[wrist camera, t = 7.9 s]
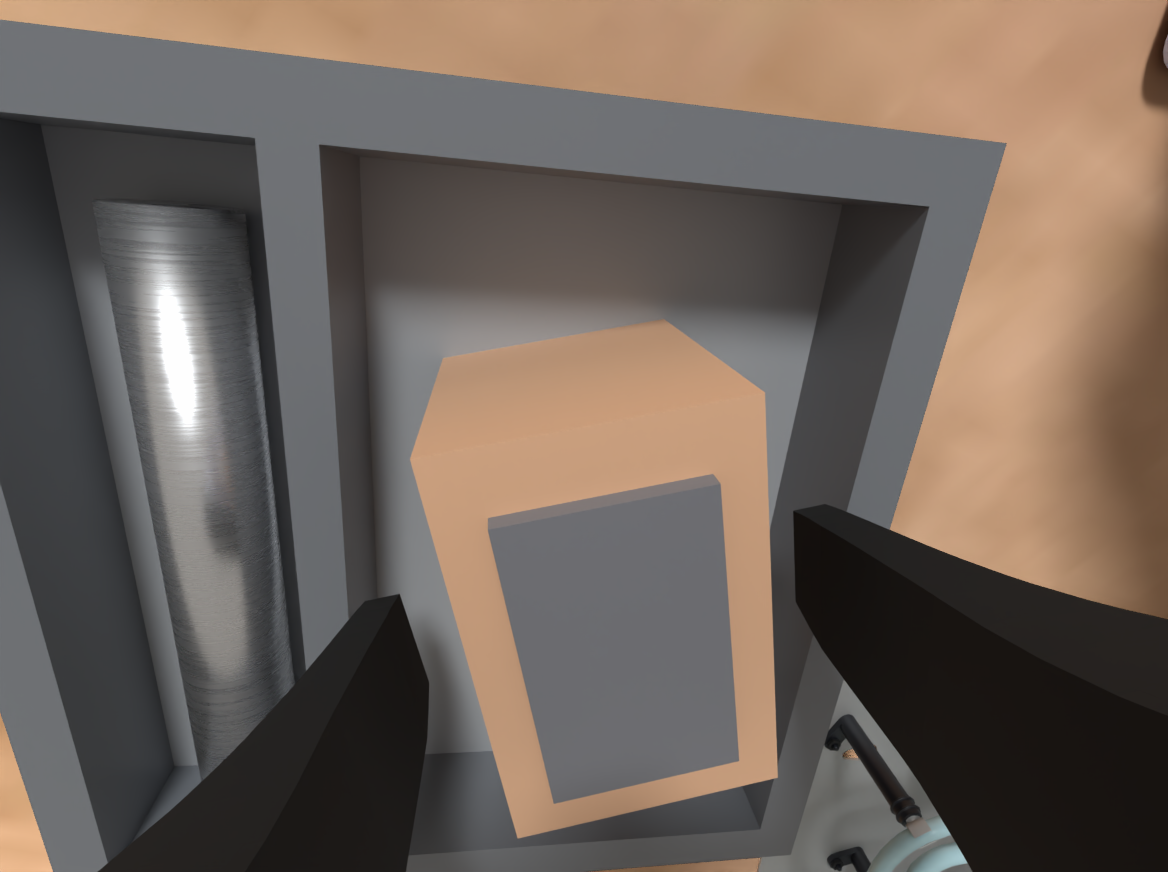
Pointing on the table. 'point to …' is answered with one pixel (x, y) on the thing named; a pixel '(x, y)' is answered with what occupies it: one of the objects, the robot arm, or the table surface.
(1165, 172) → the table surface
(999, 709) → the robot arm
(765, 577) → the block
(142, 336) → the rod
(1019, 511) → the table surface
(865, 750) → the neon sign
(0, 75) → the grey divided tray
